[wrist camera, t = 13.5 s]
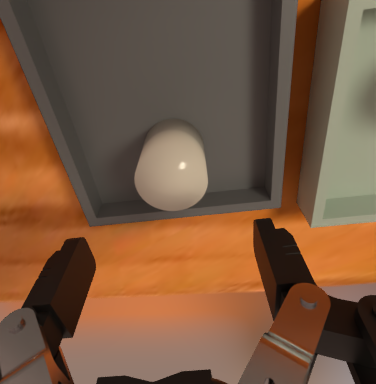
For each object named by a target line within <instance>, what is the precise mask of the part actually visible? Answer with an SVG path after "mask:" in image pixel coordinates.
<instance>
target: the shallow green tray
mask: <svg viewBox="0 0 376 384" xmlns="http://www.w3.org/2000/svg"><path fill="white" fill-rule="evenodd" d="M297 204H298V206H299V207H300V209H301V211H302V213H303V215H304V216H305V218H306V220H307V222H308V224H309V225H310V227H311V228H314V227H325V226H335V225H346V224H356V223H367V222H376V0H321V6H320V14H319V22H318V30H317V38H316V47H315V55H314V63H313V71H312V80H311V88H310V96H309V104H308V112H307V121H306V129H305V137H304V145H303V154H302V162H301V170H300V178H299V186H298V195H297Z"/></svg>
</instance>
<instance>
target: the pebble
mask: <svg viewBox="0 0 376 384" xmlns="http://www.w3.org/2000/svg"><path fill="white" fill-rule="evenodd" d="M134 180H135V186H136V189H137V191H138V193H139V195H140V196H141V197H142V199H143V200H144V201H146V202H147V203H148V204H150V205H151V206H153V207H155V208H158V209H161V210H166V211H179V210H183V209H187V208H189V207H191V206H193V205H194V204H196V203H197V202H198V201H199V200H200V199H201V198H202V197H203V195H204V194H205V192H206V189H207V185H208V175H207V167H206V159H205V151H204V143H203V139H202V136H201V134H200V132H199V131H198V130H197V128H196V127H194V126H193V125H192V124H191V123H189V122H187V121H184V120H181V119H174V118H173V119H165V120H162V121H160V122H158V123H157V124H155V125H154V126H153V127H152V128H151V129H150V130H149V132H148V133H147V136H146V138H145V142H144V145H143V148H142V152H141V155H140V158H139V161H138V165H137V168H136V172H135V177H134Z"/></svg>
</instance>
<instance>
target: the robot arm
mask: <svg viewBox="0 0 376 384" xmlns="http://www.w3.org/2000/svg"><path fill="white" fill-rule="evenodd" d="M253 244H254V253H255V257H256V261H257V264H258V268H259V272H260V275H261V279H262V282H263V286H264V289H265V293H266V296H267V300H268V303H269V306H270V310H271V314H272V317H273V321H274V322H273V324H272V326H271V328H270V330H269V332H268V333H264V334H263V336H262V337H261V339H260V341H259V343H258V345H257V347H256V349H255V351H254V353H253V355H252V357H251V359H250V361H249V362H248V364H247V366H246V368H245V370H244V372H243V374H242V376H241V378H240V380H239V382H238V384H308V381H309V378H310V375H311V372H312V369H313V367H314V364H315V361H316V358H317V355H318V354H320V355H323V356H327V357H331V358H335V359H339V360H343V361H346V362H347V365H348V367H349V370H350V372H351V375H352V377H353V380H354V382H355V384H376V295H369V296H365V297H363V298H361V299H360V300H359V302H358V303H357V302H352V301H347V300H341V299H337V298H334V297H331V296H329V295H327V294H326V293H325V291H323V290H322V289H321V288H320V287H318V286H317V285H316V284H315V282H314V280H313V278H312V276H311V274H310V271H309V269H308V267H307V265H306V263H305V261H304V259H303V257H302V255H301V254H300V250H299V248H298V246H297V244H296V242H295V240H294V238H293V236H292V235H291V234H290V233H289V232H288V231H287V230H286V229H284V228H280V229H275V227H274V224H273V222H272V220H271V218H266V219H256V220H254V232H253ZM95 270H96V263H95V259H94V256H93V254H92V252H91V250H90V248H89V245H88V243H87V241H86V239H85V238H84V237H81V238H71V239H67V240H66V241H65V242H64V244H63V246H62V248H61V250H60V251H56V252H55V253H54V254H53V255H52V256H51V257H50V258H49V259H48V260H47V262H46V264H45V266H44V268H43V271H41V273H40V275H39V278H38V279H37V280H36V282H35V284H34V286H33V288H32V289H31V291H30V293H29V295H28V297H27V299H26V300H25V302H24V304H23V306H22V308H21V309H18V310H16V311H14V312H12V313H10V314H9V315H8V316H7V317H5V318H4V319H3V320H2V321H1V323H0V384H74V382H73V379H72V377H71V374H70V371H69V368H68V366H67V363H66V360H65V357H64V355H63V352H62V349H61V347H60V346H59V345H60V343H61V340H62V338H72V337H73V335H74V332H75V329H76V326H77V323H78V320H79V317H80V315H81V311H82V309H83V306H84V303H85V300H86V297H87V294H88V291H89V288H90V285H91V282H92V280H93V277H94V274H95ZM96 384H227V383H225V382H223V381H220V380H218V379H214V378H212V376H211V370H196V371H183V372H180V373H177V374H174V375H171V376H169V377H166V378H163V379H160V380H158V381H155V382H149V381H145V380H141V379H137V378H133V377H129V376H113V377H99V378H98V379H97V383H96Z"/></svg>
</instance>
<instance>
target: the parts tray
mask: <svg viewBox="0 0 376 384" xmlns="http://www.w3.org/2000/svg"><path fill="white" fill-rule="evenodd" d="M297 5H298V0H0V18H1V20H2V23H3V25H4V27H5V30H6V32H7V34H8V37H9V39H10V41H11V44H12V46H13V48H14V51H15V53H16V55H17V58H18V60H19V62H20V65H21V67H22V69H23V72H24V74H25V76H26V79H27V81H28V83H29V86H30V88H31V90H32V93H33V95H34V97H35V100H36V102H37V104H38V107H39V109H40V111H41V114H42V116H43V118H44V121H45V123H46V125H47V128H48V130H49V132H50V135H51V137H52V139H53V142H54V144H55V146H56V149H57V151H58V153H59V156H60V158H61V160H62V163H63V165H64V167H65V170H66V172H67V174H68V177H69V179H70V181H71V184H72V186H73V188H74V191H75V193H76V195H77V198H78V200H79V202H80V205H81V207H82V209H83V212H84V214H85V216H86V219H87V221H88V223H89V226H90V227H91V226H102V225H112V224H122V223H132V222H142V221H152V220H162V219H172V218H182V217H192V216H202V215H212V214H222V213H232V212H242V211H252V210H262V209H272V208H281V198H282V186H283V174H284V162H285V150H286V138H287V126H288V114H289V102H290V90H291V77H292V65H293V53H294V41H295V29H296V17H297ZM173 118H174V119H181V120H184V121H187V122H189V123H191V124H192V125H193V126H194V127H196V128H197V130H198V131H199V132H200V134H201V136H202V139H203V143H204V151H205V159H206V167H207V175H208V185H207V189H206V192H205V194H204V195H203V197H202V198H201V199H200V200H199V201H198V202H197V203H196V204H194V205H193V206H191V207H189V208H187V209H183V210H179V211H166V210H161V209H158V208H155V207H153V206H151V205H150V204H148V203H147V202H146V201H144V200H143V199H142V197H141V196H140V195H139V193H138V191H137V189H136V186H135V180H134V177H135V172H136V168H137V165H138V161H139V158H140V155H141V152H142V148H143V145H144V142H145V138H146V136H147V133H148V132H149V130H150V129H151V128H152V127H153V126H154V125H155V124H157V123H158V122H160V121H162V120H165V119H173Z"/></svg>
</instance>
